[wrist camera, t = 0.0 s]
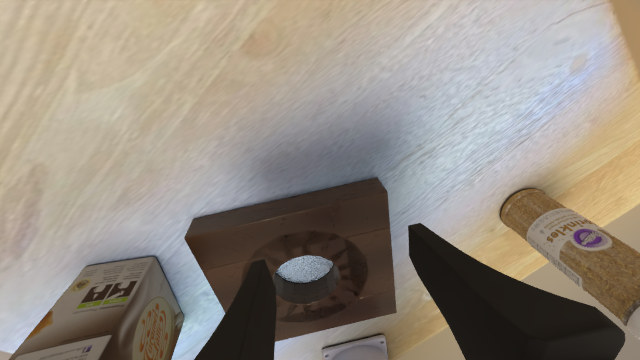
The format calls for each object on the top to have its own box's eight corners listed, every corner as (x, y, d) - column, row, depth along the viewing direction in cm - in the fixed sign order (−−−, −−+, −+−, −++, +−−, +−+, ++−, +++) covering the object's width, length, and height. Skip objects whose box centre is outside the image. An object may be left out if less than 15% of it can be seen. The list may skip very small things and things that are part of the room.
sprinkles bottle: (534, 178, 26) (749, 300, 14) (548, 206, 28) (748, 334, 16) (491, 207, 27) (657, 344, 15) (507, 233, 29) (667, 372, 17)
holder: (388, 292, 31) (396, 312, 28) (247, 326, 30) (245, 349, 28) (377, 176, 23) (387, 191, 21) (192, 218, 23) (183, 238, 21)
